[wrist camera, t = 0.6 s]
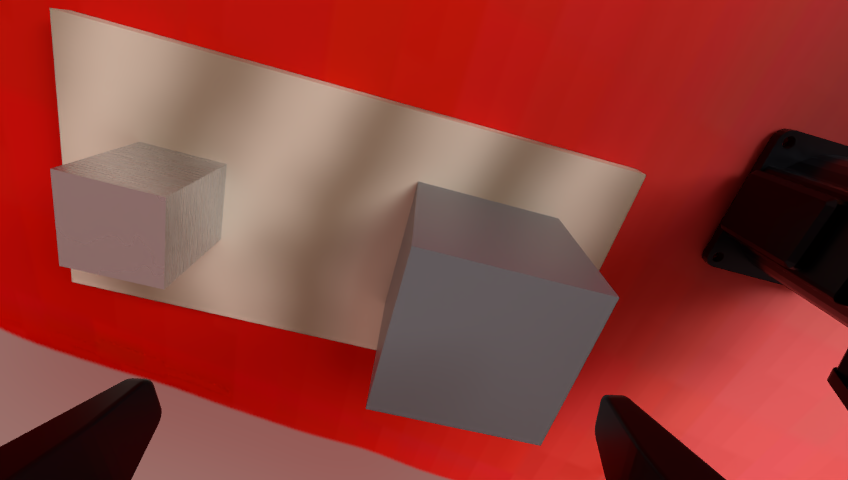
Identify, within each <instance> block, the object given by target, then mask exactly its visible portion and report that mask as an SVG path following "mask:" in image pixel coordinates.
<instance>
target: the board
mask: <svg viewBox="0 0 848 480" xmlns="http://www.w3.org/2000/svg"><path fill="white" fill-rule="evenodd" d="M50 18H51V30H52V42H53V54H54V67H55V79H56V91H57V103H58V116H59V128H60V140H61V152H62V165H64V164H68V163H71V162H74V161H77V160H81V159H84V158H87V157H91V156H94V155H97V154H100V153H104V152H107V151H110V150H114V149H117V148H120V147H123V146H127V145H130V144H133V143H136V142H143V143H147V144H151V145H155V146H159V147H162V148H166V149H170V150H174V151H178V152H182V153H186V154H190V155H194V156H197V157H201V158H205V159H209V160H213V161H217V162H221V163H225V164H227V169H226V181H225V194H224V206H223V219H222V232H221V240H219V241H218V242H217V243H216V244H215V245H214V246H213V247H212V248H210V249H209V250H208V251H207V252H206V253H205V254H204V255H203V256H201V257H200V258H199V259H198V260H197V261H196V262H195V263H194V264H192V265H191V266H190V267H189V268H188V269H187V270H186V271H185V272H183V273H182V274H181V275H180V276H179V277H178V278H177V279H175V280H174V281H173V282H172V283H171V284H170V285H169V286H168V287H166V288H165V289H164V290H163V289H159V288H155V287H150V286H146V285H141V284H137V283H133V282H128V281H124V280H119V279H115V278H111V277H106V276H102V275H97V274H93V273H89V272H84V271H80V270H75V269H71V275H72V282H75V283H79V284H84V285H88V286H93V287H97V288H102V289H106V290H110V291H115V292H119V293H124V294H128V295H133V296H137V297H142V298H146V299H151V300H155V301H159V302H164V303H168V304H173V305H177V306H182V307H186V308H191V309H195V310H200V311H204V312H208V313H213V314H217V315H222V316H226V317H231V318H235V319H240V320H244V321H249V322H253V323H257V324H262V325H266V326H271V327H275V328H280V329H284V330H289V331H293V332H297V333H302V334H306V335H311V336H315V337H320V338H324V339H329V340H333V341H338V342H342V343H346V344H351V345H355V346H360V347H364V348H369V349H373V350H377V344H378V339H379V334H380V328H381V323H382V317H383V312H384V306H385V302H386V298H387V295H388V291H389V287H390V284H391V280H392V276H393V273H394V269H395V265H396V261H397V258H398V254H399V250H400V247H401V243H402V239H403V236H404V232H405V228H406V225H407V221H408V217H409V213H410V210H411V206H412V202H413V199H414V195H415V191H416V188H417V184H418V181H419V182H422V183H426V184H430V185H434V186H437V187H441V188H445V189H449V190H453V191H456V192H460V193H464V194H468V195H472V196H475V197H479V198H483V199H487V200H490V201H494V202H498V203H502V204H506V205H509V206H513V207H517V208H521V209H525V210H528V211H532V212H536V213H540V214H543V215H547V216H551V217H555V218H559V220H560V221H561V222H562V224H563V225H564V226H565V228H566V229H567V230H568V231H569V233H570V234H571V235H572V237H573V238H574V239H575V241H576V242H577V243H578V244H579V246H580V247H581V248H582V250H583V251H584V252H585V254H586V255H587V256H588V257H589V259H590V260H591V261H592V263H593V264H594V265H595V267H596V268H597V269H598V271H599V270H600V268H601V266H602V264H603V262H604V260H605V258H606V256H607V254H608V252H609V250H610V248H611V246H612V244H613V242H614V240H615V238H616V236H617V234H618V231H619V229H620V227H621V225H622V223H623V221H624V219H625V217H626V215H627V213H628V211H629V209H630V207H631V205H632V203H633V201H634V199H635V197H636V195H637V193H638V191H639V189H640V187H641V185H642V183H643V181H644V179H645V177H646V174H644V173H642V172H640V171H639V170H637V169H634V168H631V167H627V166H623V165H620V164H616V163H613V162H609V161H606V160H602V159H599V158H595V157H591V156H588V155H584V154H581V153H577V152H574V151H570V150H566V149H563V148H559V147H556V146H552V145H549V144H545V143H542V142H538V141H534V140H531V139H527V138H524V137H520V136H517V135H513V134H509V133H506V132H502V131H499V130H495V129H492V128H488V127H484V126H481V125H477V124H474V123H470V122H467V121H463V120H460V119H456V118H452V117H449V116H445V115H442V114H438V113H435V112H431V111H427V110H424V109H420V108H417V107H413V106H410V105H406V104H403V103H399V102H395V101H392V100H388V99H385V98H381V97H378V96H374V95H370V94H367V93H363V92H360V91H356V90H353V89H349V88H345V87H342V86H338V85H335V84H331V83H328V82H324V81H321V80H317V79H313V78H310V77H306V76H303V75H299V74H296V73H292V72H288V71H285V70H281V69H278V68H274V67H271V66H267V65H264V64H260V63H256V62H253V61H249V60H246V59H242V58H239V57H235V56H231V55H228V54H224V53H221V52H217V51H214V50H210V49H206V48H203V47H199V46H196V45H192V44H189V43H185V42H182V41H178V40H174V39H171V38H167V37H164V36H160V35H157V34H153V33H149V32H146V31H142V30H139V29H135V28H132V27H128V26H125V25H121V24H117V23H114V22H110V21H107V20H103V19H100V18H96V17H92V16H89V15H85V14H82V13H78V12H75V11H71V10H63V9H54V8H50Z"/></svg>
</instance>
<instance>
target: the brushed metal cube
mask: <svg viewBox="0 0 848 480" xmlns="http://www.w3.org/2000/svg"><path fill="white" fill-rule="evenodd" d="M226 169H227V164H225V163H221V162H217V161H213V160H209V159H205V158H201V157H197V156H194V155H190V154H186V153H182V152H178V151H174V150H170V149H166V148H162V147H159V146H155V145H151V144H147V143H143V142H136V143H133V144H130V145H127V146H123V147H120V148H117V149H114V150H110V151H107V152H104V153H100V154H97V155H94V156H91V157H87V158H84V159H81V160H77V161H74V162H71V163H68V164H64V165H61V166H58V167H55V168H51V169H50V171H51V181H52V192H53V203H54V213H55V224H56V234H57V245H58V256H59V266H62V267H67V268H71V269H75V270H80V271H84V272H89V273H93V274H97V275H102V276H106V277H111V278H115V279H119V280H124V281H128V282H133V283H137V284H141V285H146V286H150V287H155V288H159V289H163V290H164V289H165V288H166V287H168V286H169V285H170V284H171V283H172V282H173V281H174V280H175V279H177V278H178V277H179V276H180V275H181V274H182V273H183V272H185V271H186V270H187V269H188V268H189V267H190V266H191V265H192V264H194V263H195V262H196V261H197V260H198V259H199V258H200V257H201V256H203V255H204V254H205V253H206V252H207V251H208V250H209V249H210V248H212V247H213V246H214V245H215V244H216V243H217V242H218V241H219V240H221V232H222V219H223V206H224V194H225V181H226Z"/></svg>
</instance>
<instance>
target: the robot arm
mask: <svg viewBox="0 0 848 480" xmlns="http://www.w3.org/2000/svg"><path fill="white" fill-rule="evenodd" d="M787 137H788V141H787V143H786V144H785V145H784V146H783V145H782V143H783V141H784V140H785V139H786V138H787ZM718 252H719V253H718ZM716 253H718V255H717V256H716V257H715V258H713V256H714V255H715V254H716ZM702 258H703V260H704V261H705V262H707V263H708V264H709V265H711V266H713V267H717V268H721V269H725V270H728V271H732V272H736V273H740V274H744V275H747V276H751V277H755V278H759V279H763V280H766V281H770V282H774V283H778V284H782V285H785V286H786V287H788V288H789V289H791V290H792V291H794V292H795V293H797V294H798V295H800V296H801V297H803V298H804V299H806V300H807V301H809V302H810V303H812V304H813V305H815V306H816V307H818V308H819V309H821V310H822V311H824V312H826V313H827V314H829V315H830V316H832V317H833V318H835V319H836V320H838V321H839V322H841V323H842V324H844V325H845V326H847V327H848V146H846V145H842V144H839V143H836V142H832V141H829V140H826V139H822V138H819V137H816V136H812V135H809V134H806V133H802V132H799V131H796V130H791V129H782V130H779V131H777V132H776V133H774V135H773V136H772V137H771V139H770V140H769V142H768V144H767V145H766V147H765V149H764V150H763V152H762V154H761V155H760V157H759V159H758V160H757V162H756V164H755V165H754V167H753V169H752V170H751V172H750V174H749V176H748V177H747V179H746V181H745V182H744V184H743V186H742V187H741V189H740V191H739V192H738V194H737V196H736V197H735V199H734V201H733V202H732V204H731V206H730V207H729V209H728V211H727V212H726V214H725V216H724V217H723V219H722V221H721V223H720V224H719V226H718V228H717V229H716V231H715V233H714V234H713V236H712V238H711V239H710V241H709V243H708V244H707V246H706V248H705V249H704V251H703V254H702ZM827 381H828V383H829V384H830V385H831V387H832V388H833V390H834V391H835V393H836V394H837V396H838V397H839V398H840V400H841V401H842V403H843V404H844V406H845V407H846V409H847V410H848V349H847V351H846V353H845V354H844V356H843V358H842V360H841V362H840V364H839V366H838V367H835V368H833V370H832V372H831V373H830V375H829V377H828V379H827ZM160 418H161V406H160V403H159V400H158V397H157V394H156V391H155V388H154V385H153V383H152V382H151V381H150V380H148V379H134V378H132V379H127V380H124V381H122V382H120V383H119V384H117V385H115V386H113V387H111V388H109V389H108V390H106V391H104V392H102V393H100V394H98V395H96V396H94V397H93V398H91V399H89V400H87V401H85V402H83V403H81V404H79V405H77V406H76V407H74V408H72V409H70V410H68V411H66V412H64V413H63V414H61V415H59V416H57V417H55V418H53V419H51V420H49V421H48V422H46V423H44V424H42V425H41V426H38V427H36V428H35V429H33V430H31V431H29V432H27V433H25V434H23V435H22V436H20V437H18V438H16V439H14V440H12V441H10V442H8V443H7V444H5V445H3V446H1V447H0V480H131V479H132V477H133V475H134V473H135V471H136V468H137V466H138V464H139V462H140V460H141V458H142V456H143V454H144V452H145V450H146V448H147V446H148V444H149V442H150V440H151V438H152V436H153V434H154V432H155V430H156V428H157V426H158V424H159V421H160ZM595 436H596V441H597V445H598V449H599V453H600V458H601V462H602V466H603V470H604V474H605V478H606V480H726V479H725V478H723V477H722V476H721V475H720V474H719V473H717V472H716V471H715V470H714V469H713V468H711V467H710V466H709V465H708V464H707V463H706V462H704V461H703V460H702V459H701V458H700V457H698V456H697V455H696V454H695V453H694V452H692V451H691V450H690V449H689V448H688V447H686V446H685V445H684V444H683V443H682V442H680V441H679V440H678V439H677V438H676V437H674V436H673V435H672V434H671V433H670V432H668V431H667V430H666V429H665V428H664V427H662V426H661V425H660V424H659V423H658V422H656V421H655V420H654V419H653V418H652V417H650V416H649V415H648V414H647V413H646V412H645V411H643V410H642V409H641V408H640V407H639V406H637V405H636V404H635V403H634V402H633V401H631V400H630V399H629V398H627V397H626V396H622V395H605V396H603V397H602V399H601V402H600V407H599V411H598V416H597V420H596V425H595Z"/></svg>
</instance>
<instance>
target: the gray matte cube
mask: <svg viewBox="0 0 848 480" xmlns="http://www.w3.org/2000/svg"><path fill="white" fill-rule="evenodd" d="M618 299H619V297H618V295H617V294H616V293H615V291H614V290H613V289H612V287H611V286H610V285H609V284H608V282H607V281H606V280H605V278H604V277H603V276H602V274H601V273H600V272H599V271H598V269H597V268H596V267H595V265H594V264H593V263H592V261H591V260H590V259H589V257H588V256H587V255H586V254H585V252H584V251H583V250H582V248H581V247H580V246H579V244H578V243H577V242H576V241H575V239H574V238H573V237H572V235H571V234H570V233H569V231H568V230H567V229H566V228H565V226H564V225H563V224H562V222H561V221H560V220H559V218H555V217H551V216H547V215H543V214H540V213H536V212H532V211H528V210H525V209H521V208H517V207H513V206H509V205H506V204H502V203H498V202H494V201H490V200H487V199H483V198H479V197H475V196H472V195H468V194H464V193H460V192H456V191H453V190H449V189H445V188H441V187H437V186H434V185H430V184H426V183H422V182H419V181H418V184H417V188H416V191H415V195H414V199H413V202H412V206H411V210H410V213H409V217H408V221H407V225H406V228H405V232H404V236H403V239H402V243H401V247H400V250H399V254H398V258H397V261H396V265H395V269H394V273H393V276H392V280H391V284H390V287H389V291H388V295H387V298H386V302H385V306H384V312H383V317H382V323H381V328H380V334H379V339H378V344H377V350H376V355H375V361H374V366H373V372H372V377H371V383H370V388H369V393H368V399H367V404H366V409H369V410H374V411H378V412H383V413H388V414H393V415H397V416H402V417H407V418H412V419H416V420H421V421H426V422H431V423H435V424H440V425H445V426H450V427H454V428H459V429H464V430H468V431H473V432H478V433H483V434H487V435H492V436H497V437H502V438H506V439H511V440H516V441H521V442H525V443H530V444H535V445H540V446H541V444H542V442H543V440H544V438H545V436H546V435H547V433H548V431H549V429H550V427H551V425H552V423H553V421H554V420H555V418H556V416H557V414H558V412H559V410H560V408H561V406H562V405H563V403H564V401H565V399H566V397H567V395H568V393H569V391H570V390H571V388H572V386H573V384H574V382H575V380H576V378H577V376H578V374H579V373H580V371H581V369H582V367H583V365H584V363H585V361H586V359H587V358H588V356H589V354H590V352H591V350H592V348H593V346H594V344H595V343H596V341H597V339H598V337H599V335H600V333H601V331H602V329H603V328H604V326H605V324H606V322H607V320H608V318H609V316H610V314H611V313H612V311H613V309H614V307H615V305H616V303H617V301H618Z"/></svg>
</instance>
